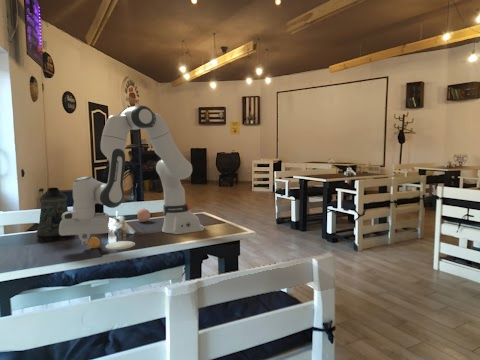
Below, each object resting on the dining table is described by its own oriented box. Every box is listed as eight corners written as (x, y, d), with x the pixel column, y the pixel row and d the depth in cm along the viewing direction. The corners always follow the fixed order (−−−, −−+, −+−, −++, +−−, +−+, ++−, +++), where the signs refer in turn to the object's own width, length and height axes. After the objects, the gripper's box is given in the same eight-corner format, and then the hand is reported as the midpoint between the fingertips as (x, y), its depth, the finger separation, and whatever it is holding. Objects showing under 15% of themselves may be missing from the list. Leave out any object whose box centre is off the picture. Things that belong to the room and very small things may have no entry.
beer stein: (44, 243, 165) (41, 191, 163) (29, 237, 178) (26, 188, 175) (79, 236, 178) (76, 187, 175) (63, 230, 190) (60, 185, 188)
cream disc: (134, 240, 169) (134, 240, 169) (135, 247, 157) (135, 247, 157) (106, 243, 165) (106, 242, 165) (104, 250, 153) (104, 250, 153)
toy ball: (145, 219, 216) (144, 207, 215) (153, 221, 212) (153, 208, 211) (134, 222, 210) (133, 209, 209) (142, 223, 205) (142, 210, 204)
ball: (91, 248, 159) (101, 242, 161) (91, 252, 155) (101, 246, 156) (85, 239, 158) (96, 233, 159) (85, 242, 153) (96, 236, 155)
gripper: (109, 211, 161) (109, 240, 162) (60, 213, 155) (61, 243, 156) (108, 213, 155) (109, 244, 156) (57, 215, 149) (58, 247, 150)
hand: (84, 243), depth 156 cm, fingers closed
